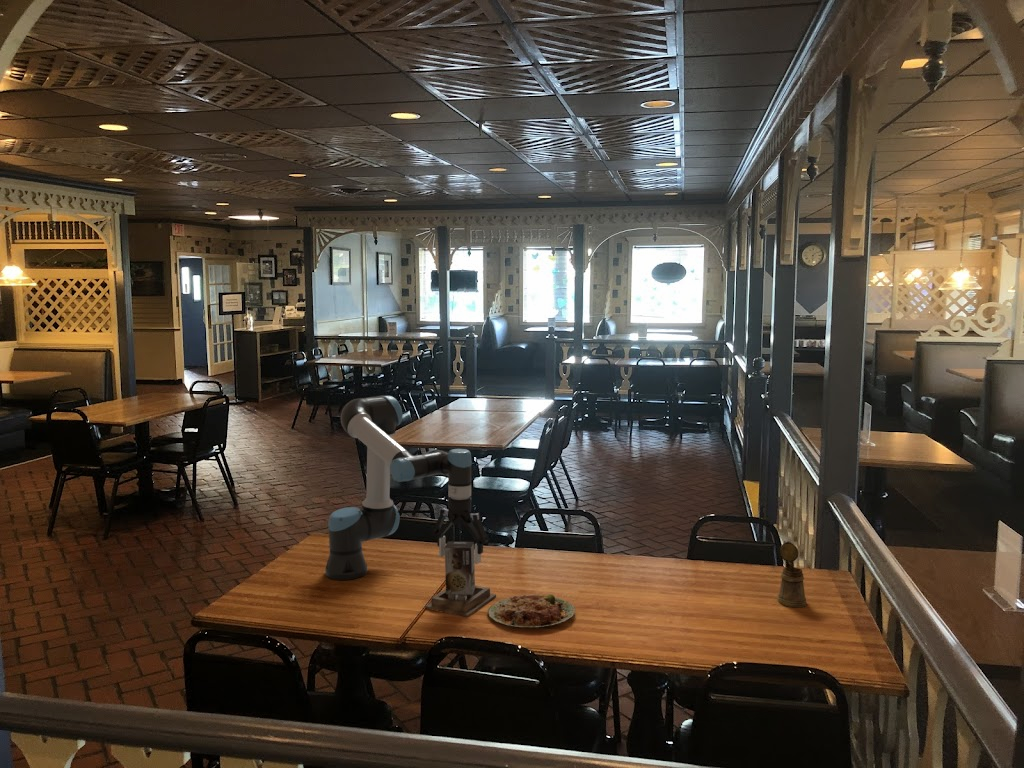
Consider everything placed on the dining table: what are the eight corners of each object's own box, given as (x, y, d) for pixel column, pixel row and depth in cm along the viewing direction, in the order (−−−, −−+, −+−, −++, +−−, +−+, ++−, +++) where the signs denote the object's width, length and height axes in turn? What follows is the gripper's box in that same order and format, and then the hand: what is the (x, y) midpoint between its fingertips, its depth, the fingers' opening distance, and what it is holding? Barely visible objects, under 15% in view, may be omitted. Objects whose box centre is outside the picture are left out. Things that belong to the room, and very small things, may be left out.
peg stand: (425, 608, 257) (424, 597, 257) (455, 588, 274) (455, 578, 274) (467, 617, 250) (467, 605, 250) (496, 596, 267) (496, 586, 266)
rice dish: (476, 609, 260) (475, 593, 259) (551, 592, 271) (550, 577, 270) (509, 643, 235) (508, 626, 234) (591, 623, 245) (590, 607, 245)
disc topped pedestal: (799, 592, 269) (801, 541, 267) (809, 608, 256) (811, 554, 254) (772, 591, 270) (774, 540, 268) (780, 607, 257) (782, 553, 255)
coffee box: (475, 588, 265) (474, 541, 263) (472, 595, 258) (471, 547, 256) (448, 587, 266) (447, 540, 264) (445, 594, 259) (444, 546, 257)
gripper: (421, 494, 260) (421, 556, 263) (487, 504, 249) (487, 569, 252) (433, 489, 267) (434, 549, 270) (498, 499, 256) (498, 562, 258)
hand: (459, 559), depth 261 cm, fingers open, 13 cm apart
